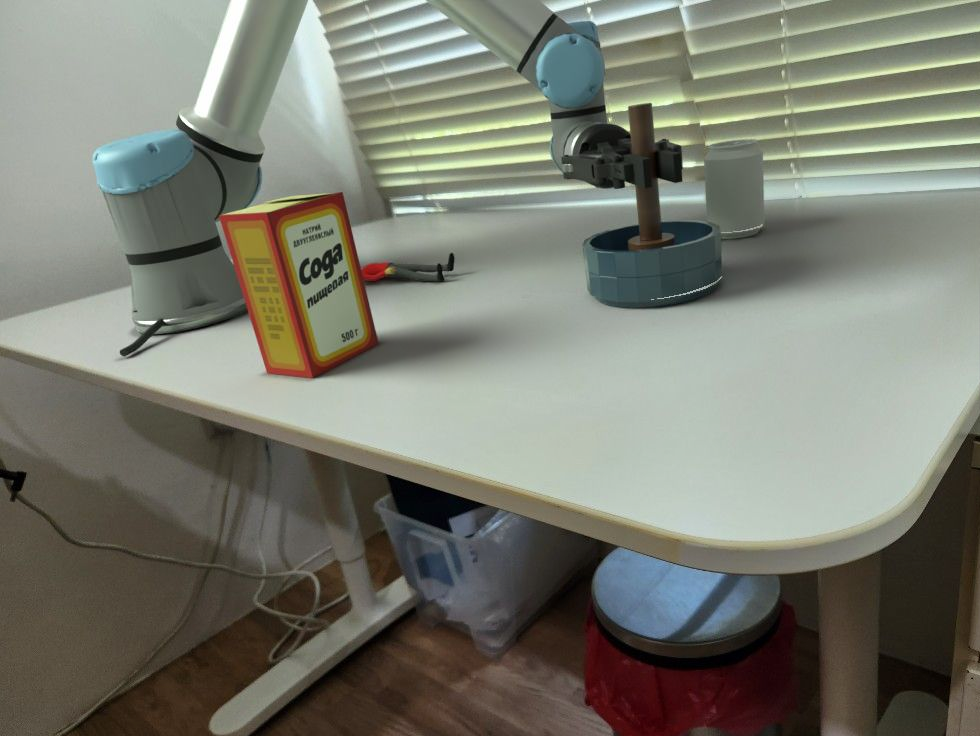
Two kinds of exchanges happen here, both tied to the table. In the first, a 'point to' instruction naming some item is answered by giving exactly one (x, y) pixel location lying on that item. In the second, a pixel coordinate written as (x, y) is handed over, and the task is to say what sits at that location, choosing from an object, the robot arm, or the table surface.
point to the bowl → (653, 265)
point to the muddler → (649, 197)
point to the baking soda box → (301, 282)
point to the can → (735, 187)
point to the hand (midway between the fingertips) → (662, 170)
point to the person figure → (407, 270)
